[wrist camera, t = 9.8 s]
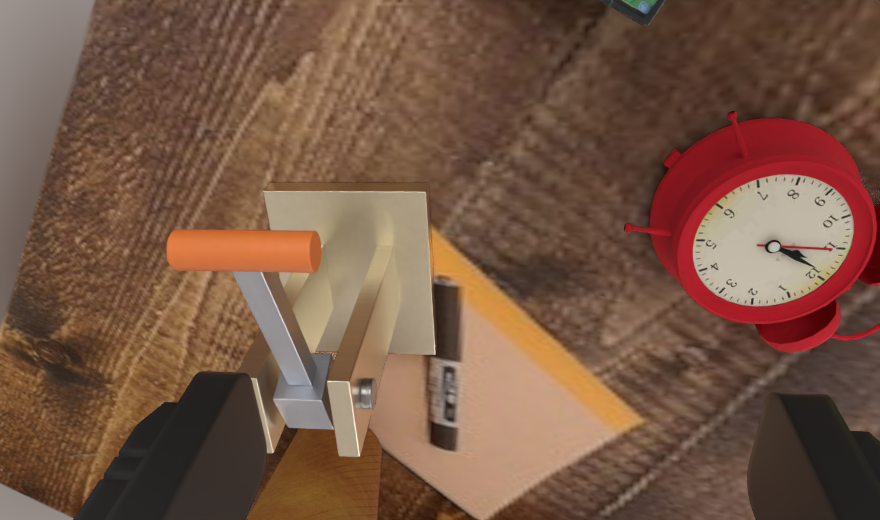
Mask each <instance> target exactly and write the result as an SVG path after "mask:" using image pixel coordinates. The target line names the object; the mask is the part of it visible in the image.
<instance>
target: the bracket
mask: <svg viewBox="0 0 880 520" xmlns="http://www.w3.org/2000/svg"><path fill="white" fill-rule="evenodd" d="M263 193H264V198H265V203H266V209H267V214H268V219H269V224H270V230H293V231H317V232H318V234H319V236H320V240H321V262H320V266H319V269H318V271H317V272H315V273H290V272H279V277H280V281H281V283H282V286H283V288H284V290H285V293H286V295H287V297H288V300H289V302H290V305H291V307H292V309H293V312H294V314H295V317H296V319H297V321H298V324H299V326H300V329H301V331H302V333H303V336H304V338H305V341H306V343H307V345H308V348H309V350H310V353H315V351H318V352H337V355H336V357H335V360H334V363H333V365H332V368H331V371H330V374H329V376H328V379H327V387H328V393H329V399H330V405H331V411H332V417H333V424H334V430H335V436H336V442H337V448H338V454H339V456H346V457H360V455H361V451H362V447H363V443H364V440H365V436H366V432H367V428H368V425H369V421H370V417H371V413H372V410H373V409H374V407H375V404H376V397H377V391H378V387H379V384H380V380H381V376H382V372H383V369H384V365H385V361H386V357H387V354H418V355H435V354H436V349H437V326H436V308H435V290H434V272H433V254H432V236H431V218H430V200H429V184H428V183H269V184H268V186H267V187H266V188H265V190H264V191H263ZM238 373H247V374H248V375H249V376H250V378H251V380H252V383H253V387H254V391H255V396H256V400H257V404H258V408H259V413H260V417H261V421H262V425H263V430H264V434H265V438H266V445H267V453H274V450H275V448H276V446H277V443H278V441H279V438H280V436H281V434H282V431H283V429H284V426H285V424H286V422H285V421H284V419H283V417H282V415H281V413H280V412H279V410H278V408H277V406H276V404H275V403H274V401H273V396H274V393H275V389H276V385H277V381H278V377H279V373H280V367H279V365H278V363H277V361H276V359H275V357H274V355H273V353H272V351H271V349H270V347H269V345H268V343H267V341H266V339H265V337H264V335H263V333H262V331H261V330H260V332H259V334H258V336H257V337H256V339H255V341H254V343H253V345H252V347H251V348H250V350H249V352H248V354H247V356H246V357H245V359H244V361H243V363H242V365H241V367H240V368H239V370H238Z"/></svg>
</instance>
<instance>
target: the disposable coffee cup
mask: <svg viewBox="0 0 880 520" xmlns="http://www.w3.org/2000/svg"><path fill="white" fill-rule="evenodd" d="M381 458H382V449H381V445H380V443H379V440H378V439H377V437H376V436H375V434H374V433H373V432H372V431H371V430H370V429H369V428H367V432H366V436H365V440H364V443H363V447H362V451H361V455H360V457H346V456H339V454H338V448H337V442H336V436H335V430H330V429H306V428H299V429H298V431H297V433H296V435H295V436H294V438H293V440H292V442H291V443H290V445H289V447H288V449H287V450H286V452H285V454H284V456H283V457H282V459H281V461H280V462H279V464H278V466H277V468H276V469H275V471H274V473H273V474H272V476H271V478H270V479H269V481H268V483H267V485H266V486H265V488H264V490H263V492H262V493H261V495H260V497H259V499H258V501H257V502H256V504H255V506H254V507H253V509H252V511H251V513H250V514H249V516H248V518H247V519H246V520H377V514H378V497H379V485H380V484H379V483H380V470H381Z"/></svg>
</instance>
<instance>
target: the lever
mask: <svg viewBox="0 0 880 520" xmlns="http://www.w3.org/2000/svg"><path fill="white" fill-rule="evenodd" d="M167 259H168V262H169V264H170V266H171V268H172V269H174V270H177V271H231V272H232V273H233V275H234V277H235V279H236V281H237V283H238V285H239V287H240V289H241V291H242V293H243V295H244V297H245V299H246V301H247V303H248V305H249V307H250V309H251V311H252V313H253V315H254V317H255V319H256V321H257V323H258V325H259V327H260V329H261V331H262V333H263V335H264V337H265V339H266V341H267V343H268V345H269V347H270V349H271V351H272V353H273V355H274V357H275V359H276V361H277V363H278V365H279V367H280V373H279V377H278V381H277V385H276V389H275V393H274V396H273V401H274V403H275V404H276V406H277V408H278V410H279V412H280V413H281V415H282V417H283V419H284V421H285V422H286V424H287V426H288V427H289V428H306V429H330V430H334V424H333V417H332V411H331V405H330V399H329V393H328V387H327V379H328V376H329V374H330V371H331V368H332V365H333V363H334V360H333V357H332V354H318V353H310V350H309V348H308V345H307V343H306V341H305V338H304V336H303V333H302V331H301V329H300V326H299V324H298V321H297V319H296V317H295V314H294V312H293V309H292V307H291V305H290V302H289V300H288V297H287V295H286V293H285V290H284V288H283V286H282V283H281V281H280V278H279V276H278V274H277V272H290V273H315V272H317V271H318V269H319V266H320V262H321V240H320V236H319V234H318V232H317V231H293V230H195V229H176V230H174V231H173V232H172V233H171V234H170V236H169V238H168V242H167Z"/></svg>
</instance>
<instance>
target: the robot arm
mask: <svg viewBox="0 0 880 520" xmlns="http://www.w3.org/2000/svg"><path fill="white" fill-rule="evenodd" d="M266 459H267V445H266V438H265V434H264V430H263V425H262V421H261V417H260V413H259V408H258V404H257V400H256V396H255V391H254V387H253V383H252V380H251V378H250V376H249V375H248V374H247V373H238V372H209V371H202V372H199V373H197V374H196V375H195V376H194V378H193V379H192V381H191V382H190V384H189V386H188V387H187V389H186V390H185V392H184V394H183V395H182V397H181V398H180V400H179V402H178V403H173V402H164V403H163V404H162V405H161V406H160V407H158V408H157V409H156V410H155V411H153V412H152V413H151V414H150V415H148V416H147V417H146V418H145V419H144V420H142V421H141V422H140V423H139V424H137V426H136V427H135V429H134V430H133V432H132V433H131V434H130V436H129V437H128V439H127V440H126V442H125V443H124V445H123V446H122V448H121V449H120V451H119V456H118V457H115V458H114V460H113V461H112V463H111V464H110V466H109V467H108V469H107V470H106V472H105V473H104V479H103V480H100V481H99V482H98V484H97V485H96V487H95V488H94V489H93V491H92V492H91V494H90V495H89V497H88V498H87V500H86V501H85V503H84V504H83V506H82V507H81V509H80V510H79V512H78V513H77V515H76V516H75V518H74V519H73V520H246V518H247V515H248V513H249V510H250V508H251V506H252V503H253V501H254V498H255V496H256V494H257V491H258V489H259V486H260V484H261V481H262V479H263V475H264V471H265V466H266ZM747 484H748V494H749V500H750V504H751V507H752V510H753V513H754V516H755V519H756V520H880V441H879V440H877V439H876V438H875V437H874V436H873V435H872V434H870V433H869V432H862V431H850V430H849V428H848V426H847V424H846V423H845V421H844V419H843V417H842V416H841V414H840V412H839V410H838V409H837V407H836V405H835V404H834V402H833V400H832V399H831V398H830V397H829V396H827V395H825V394H806V393H777V392H773V393H770V394H769V395H768V396H767V398H766V400H765V403H764V406H763V410H762V414H761V418H760V422H759V426H758V429H757V433H756V437H755V441H754V445H753V449H752V452H751V456H750V460H749V464H748V472H747Z"/></svg>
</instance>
